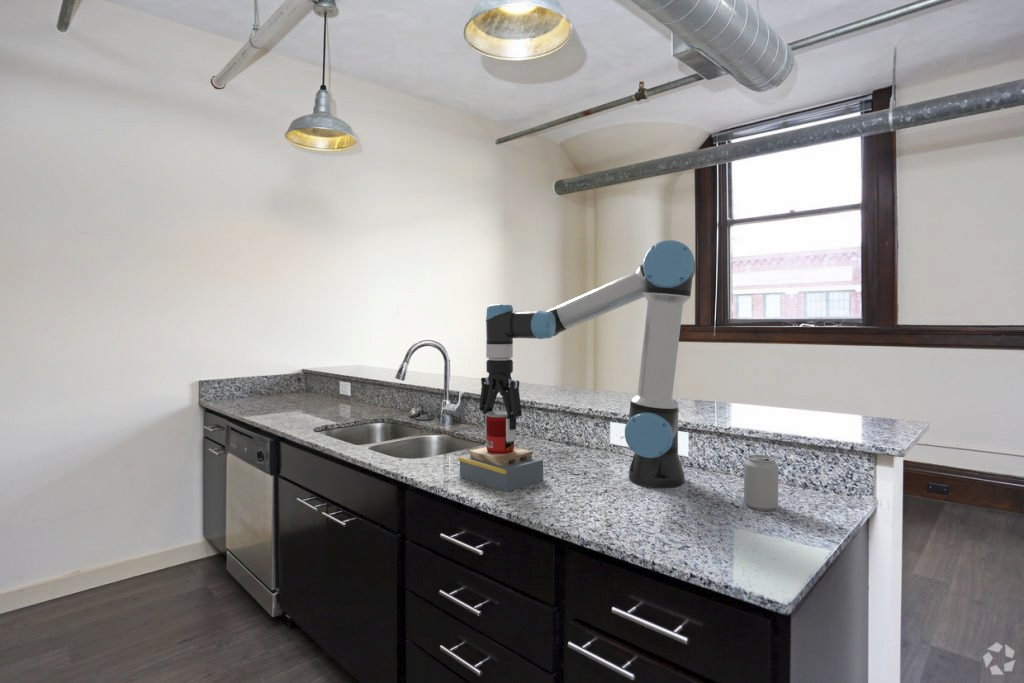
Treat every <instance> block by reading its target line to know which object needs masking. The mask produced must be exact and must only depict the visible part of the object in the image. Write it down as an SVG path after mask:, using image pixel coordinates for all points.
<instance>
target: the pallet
mask: <svg viewBox="0 0 1024 683" xmlns="http://www.w3.org/2000/svg"><path fill="white" fill-rule="evenodd" d="M468 454H470V457H472V458H475V459H479V460H482V461H486V462H489V463H493V464H496V465H500V466H507V465H508V461H509V462H512V463H518V462H520V459H524V460H529V459H532V457H533V456H532V455H534V451H533V450H532V451H531V450H527V449H524V448H519V447H515V446H514V450H513V452H511V453H507V454H493V453H489V452H488V451H487V446H483V447H479V448H478V447H477V448H474V449H470V450H468Z"/></svg>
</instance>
